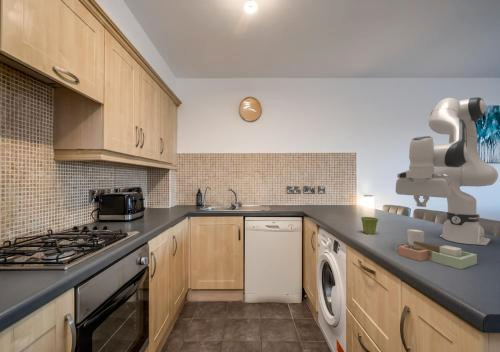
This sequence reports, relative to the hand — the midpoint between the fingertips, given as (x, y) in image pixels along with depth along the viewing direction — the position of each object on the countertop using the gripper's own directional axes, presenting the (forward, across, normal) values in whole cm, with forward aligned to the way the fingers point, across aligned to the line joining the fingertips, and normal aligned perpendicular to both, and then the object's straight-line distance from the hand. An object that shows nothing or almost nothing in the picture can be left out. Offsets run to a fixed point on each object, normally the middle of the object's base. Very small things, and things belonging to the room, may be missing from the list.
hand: (421, 206), depth 103 cm
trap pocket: (+20, -2, +9) cm, 22 cm away
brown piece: (+20, -2, +1) cm, 20 cm away
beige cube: (+20, +8, -11) cm, 24 cm away
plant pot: (+20, +34, -13) cm, 42 cm away
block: (+20, -11, +2) cm, 23 cm away
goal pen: (+20, -12, +2) cm, 23 cm away
